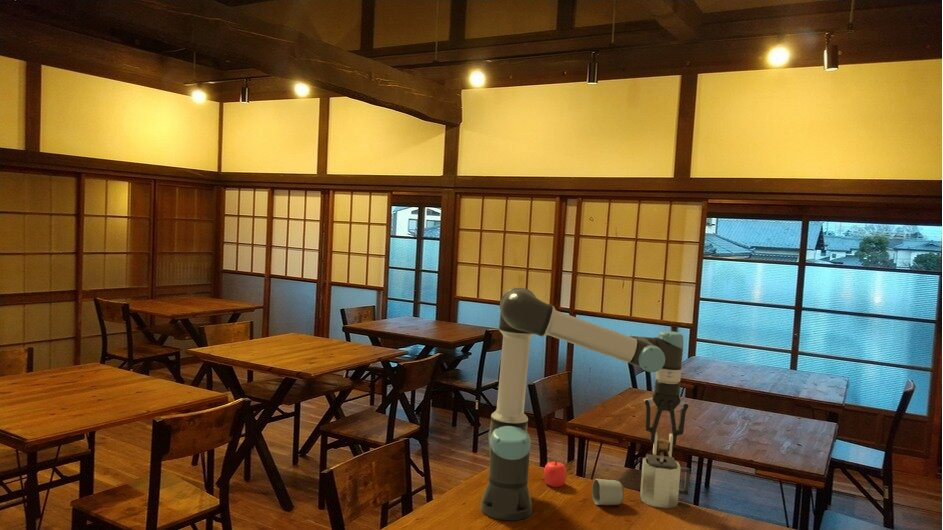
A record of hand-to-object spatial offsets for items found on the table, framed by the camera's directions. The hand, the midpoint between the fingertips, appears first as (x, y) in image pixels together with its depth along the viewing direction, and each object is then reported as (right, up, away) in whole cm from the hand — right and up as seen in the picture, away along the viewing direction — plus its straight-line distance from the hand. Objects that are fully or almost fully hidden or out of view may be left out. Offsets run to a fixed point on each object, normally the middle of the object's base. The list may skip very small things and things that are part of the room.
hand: (662, 454), depth 208 cm
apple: (-33, -13, +10) cm, 36 cm away
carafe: (+1, -15, +1) cm, 15 cm away
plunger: (-1, -13, +1) cm, 13 cm away
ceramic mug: (-18, -15, -2) cm, 24 cm away
